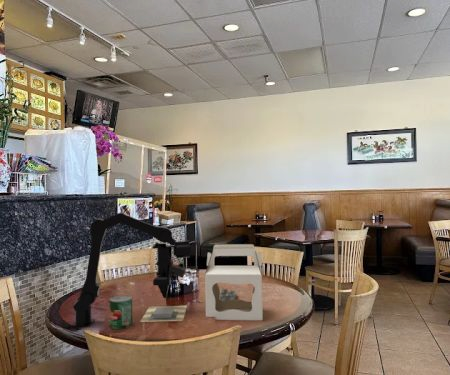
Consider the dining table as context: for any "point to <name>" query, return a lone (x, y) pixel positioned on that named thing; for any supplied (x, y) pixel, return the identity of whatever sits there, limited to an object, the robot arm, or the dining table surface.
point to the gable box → (233, 276)
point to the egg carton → (227, 295)
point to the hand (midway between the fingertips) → (165, 297)
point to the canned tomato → (121, 312)
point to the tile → (163, 312)
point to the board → (177, 316)
